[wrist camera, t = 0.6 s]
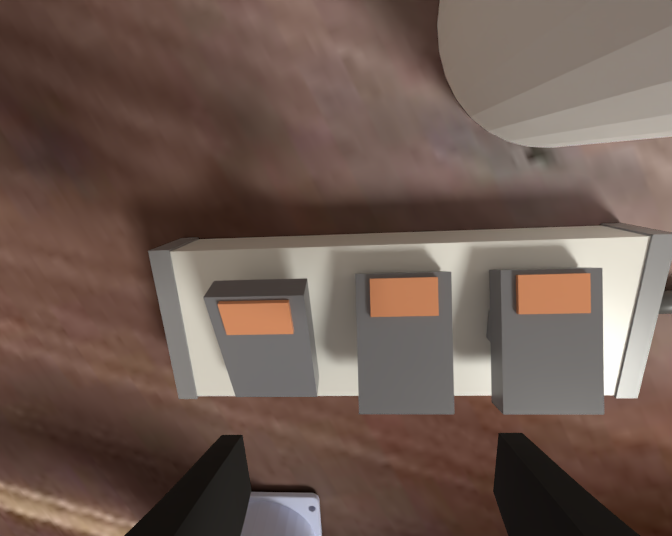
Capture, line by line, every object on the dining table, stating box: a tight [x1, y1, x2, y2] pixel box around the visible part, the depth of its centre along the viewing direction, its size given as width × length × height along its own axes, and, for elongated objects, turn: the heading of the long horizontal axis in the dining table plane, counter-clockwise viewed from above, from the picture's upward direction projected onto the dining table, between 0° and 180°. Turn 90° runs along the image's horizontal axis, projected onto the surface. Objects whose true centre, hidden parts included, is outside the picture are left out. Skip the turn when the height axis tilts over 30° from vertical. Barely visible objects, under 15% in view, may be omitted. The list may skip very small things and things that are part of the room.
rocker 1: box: [203, 278, 319, 397], centre depth 15 cm, size 6×4×1 cm, turn 3°
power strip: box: [148, 223, 672, 399], centre depth 17 cm, size 8×29×4 cm, turn 93°
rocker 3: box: [489, 267, 604, 414], centre depth 14 cm, size 6×4×1 cm, turn 3°
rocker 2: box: [355, 271, 454, 414], centre depth 14 cm, size 6×4×1 cm, turn 3°
